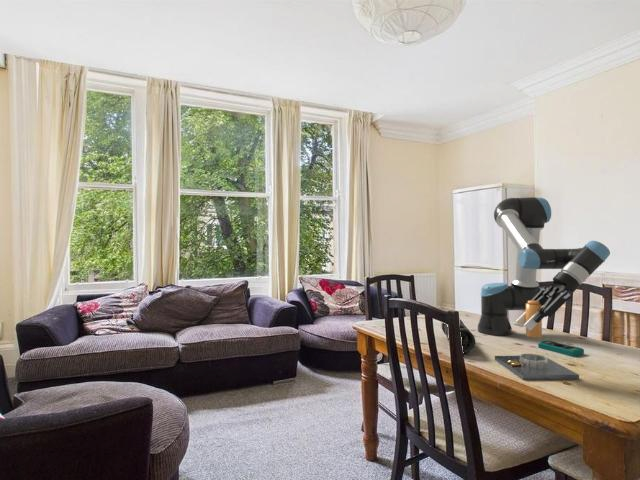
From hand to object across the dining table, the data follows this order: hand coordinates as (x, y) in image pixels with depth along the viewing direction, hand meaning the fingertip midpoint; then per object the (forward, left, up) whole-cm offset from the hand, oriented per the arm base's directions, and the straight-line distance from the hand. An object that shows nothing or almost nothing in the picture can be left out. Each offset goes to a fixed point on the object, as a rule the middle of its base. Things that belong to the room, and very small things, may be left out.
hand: (522, 325), depth 132 cm
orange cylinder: (0, +4, -3) cm, 5 cm away
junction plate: (0, +4, -15) cm, 16 cm away
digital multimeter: (-21, +26, -16) cm, 37 cm away
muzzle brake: (-30, -12, -15) cm, 36 cm away
